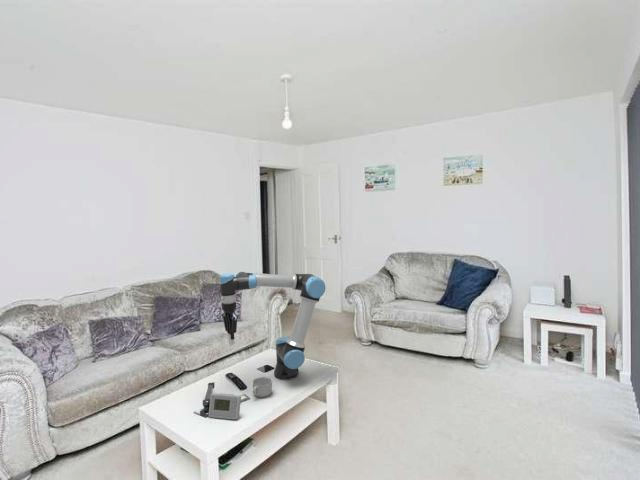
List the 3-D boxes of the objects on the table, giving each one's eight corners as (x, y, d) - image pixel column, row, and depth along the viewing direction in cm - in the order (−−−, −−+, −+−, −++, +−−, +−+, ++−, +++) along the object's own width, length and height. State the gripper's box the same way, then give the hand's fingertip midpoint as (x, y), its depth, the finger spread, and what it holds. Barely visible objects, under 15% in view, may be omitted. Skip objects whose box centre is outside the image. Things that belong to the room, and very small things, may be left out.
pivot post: (210, 407, 188) (210, 400, 188) (216, 412, 183) (216, 405, 183) (197, 412, 184) (197, 404, 183) (203, 418, 178) (203, 410, 178)
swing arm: (210, 406, 181) (210, 401, 181) (202, 407, 181) (201, 402, 181) (215, 386, 203) (215, 382, 203) (207, 386, 202) (207, 382, 202)
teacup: (262, 388, 208) (262, 374, 208) (276, 393, 202) (276, 379, 201) (244, 398, 197) (243, 384, 196) (258, 404, 191) (258, 389, 190)
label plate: (244, 394, 201) (244, 393, 201) (250, 398, 196) (250, 397, 196) (231, 400, 195) (231, 398, 195) (237, 404, 191) (236, 402, 191)
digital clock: (206, 417, 179) (205, 396, 178) (218, 408, 187) (217, 388, 186) (233, 424, 173) (232, 402, 172) (244, 414, 181) (244, 393, 180)
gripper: (216, 302, 199) (219, 344, 201) (228, 305, 190) (232, 349, 192) (228, 299, 205) (231, 340, 206) (241, 302, 195) (244, 345, 197)
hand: (231, 344), depth 199 cm, fingers closed
